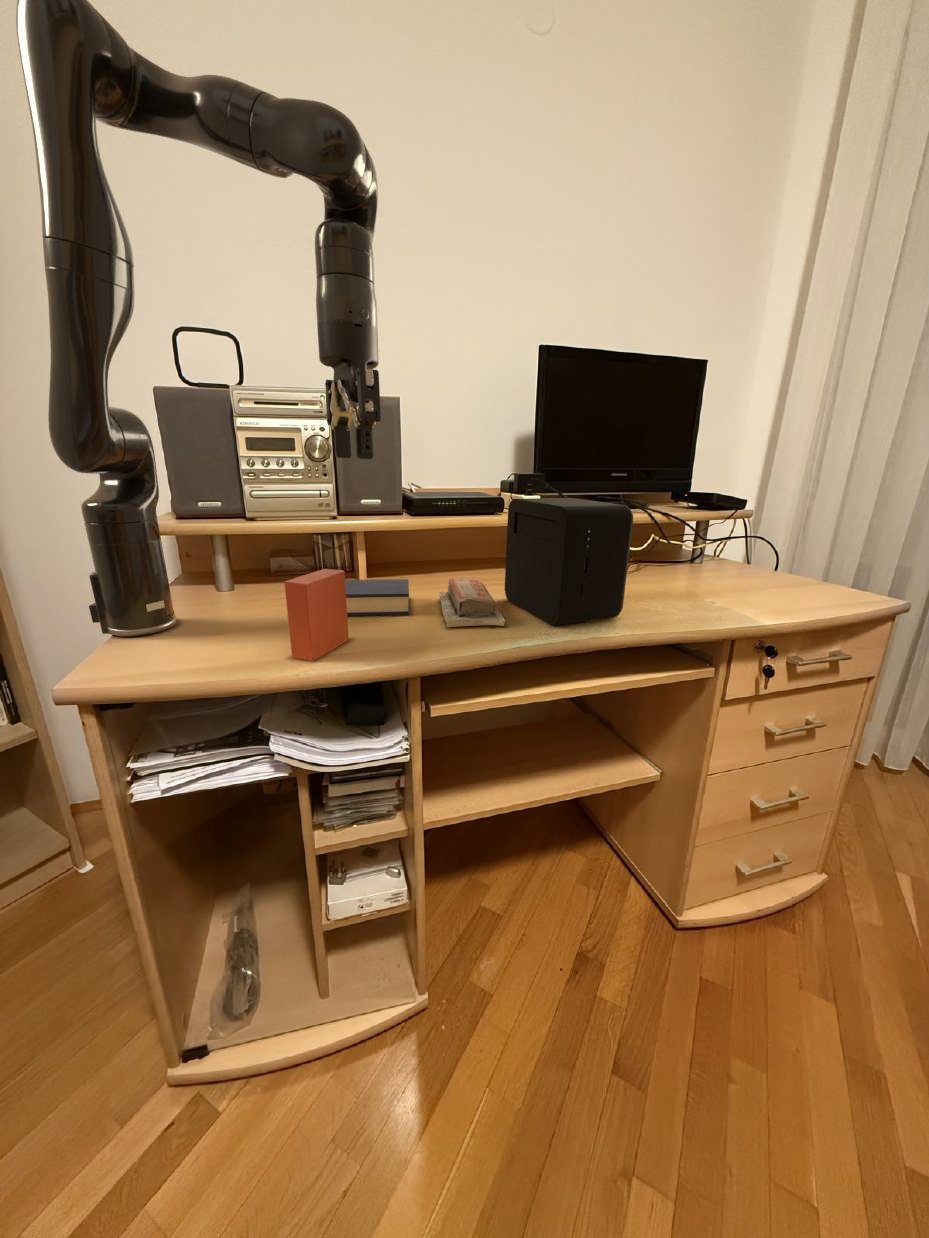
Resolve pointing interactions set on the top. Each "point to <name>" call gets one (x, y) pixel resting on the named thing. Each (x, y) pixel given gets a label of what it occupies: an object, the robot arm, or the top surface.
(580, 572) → the black nas enclosure
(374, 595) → the big book
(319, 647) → the red rectangular block
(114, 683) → the top surface
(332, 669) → the top surface
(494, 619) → the packaged product
